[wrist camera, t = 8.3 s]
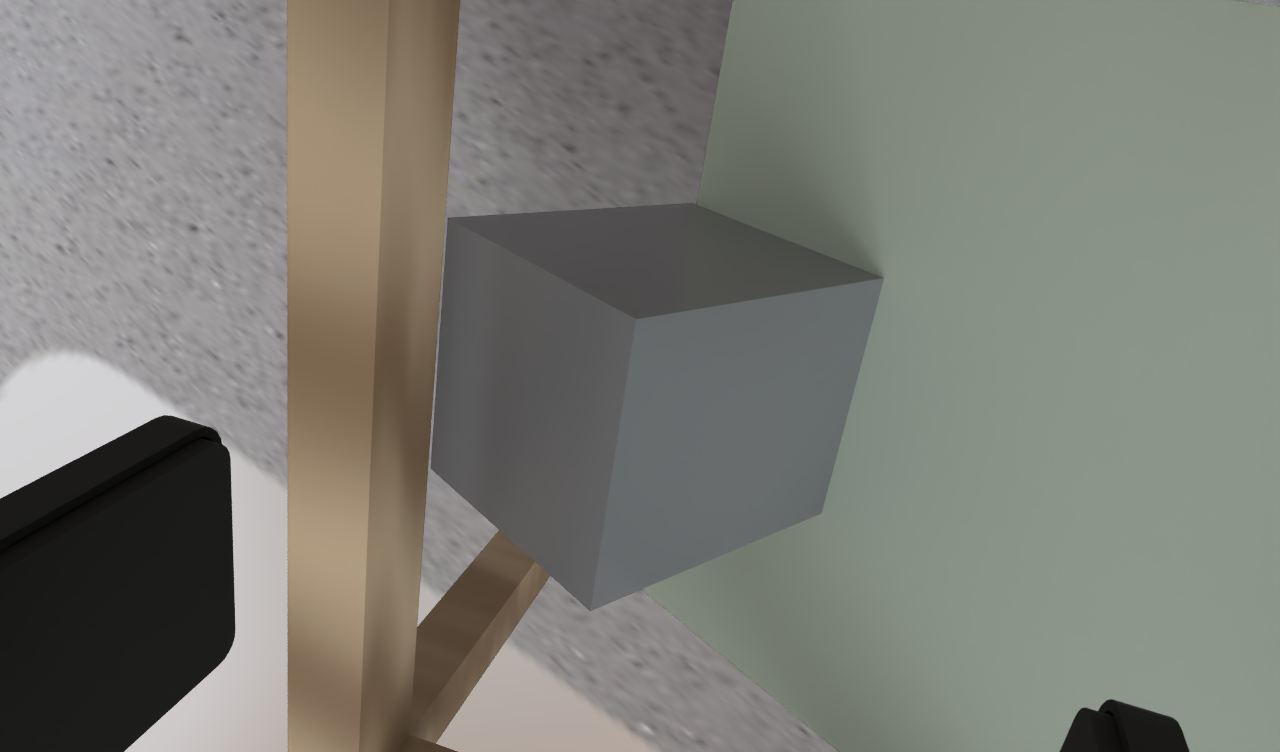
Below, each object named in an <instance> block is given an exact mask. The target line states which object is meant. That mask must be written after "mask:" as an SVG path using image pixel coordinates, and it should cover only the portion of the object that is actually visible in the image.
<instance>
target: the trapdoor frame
mask: <svg viewBox="0 0 1280 752" xmlns="http://www.w3.org/2000/svg"><path fill="white" fill-rule="evenodd" d="M459 9H460V0H287V195H288V752H457V751H454V750H451V749H449V748H446V747H443V746H440V745H438V744H436V742H437V741H438V739H439V738H440V737H441V735H442V733H443V732H444V731H445V729H446V728H447V726H448V725H449V723H450V722H451V720H452V719H453V717H454V716H455V714H456V713H457V712H458V710H459V709H460V707H461V706H462V704H463V703H464V701H465V700H466V698H467V697H468V696H469V694H470V693H471V691H472V690H473V688H474V687H475V685H476V684H477V682H478V681H479V679H480V678H481V677H482V675H483V674H484V672H485V671H486V669H487V668H488V666H489V664H490V663H491V662H492V660H493V659H494V658H495V656H496V655H497V653H498V652H499V650H500V649H501V647H502V646H503V644H504V643H505V641H506V640H507V638H508V637H509V636H510V634H511V633H512V631H513V630H514V628H515V627H516V625H517V624H518V622H519V621H520V619H521V618H522V617H523V615H524V614H525V612H526V611H527V609H528V608H529V606H530V605H531V603H532V602H533V600H534V599H535V597H536V596H537V595H538V593H539V592H540V590H541V589H542V587H543V586H544V584H545V583H546V581H547V580H548V578H549V577H550V576H551V575H549V574H548V573H547V572H546V571H545V570H544V569H543V568H542V567H540V566H539V565H538V564H537V563H536V562H535V561H534V560H533V559H532V558H530V557H529V556H528V555H527V554H526V553H525V552H524V551H523V550H521V549H520V548H519V547H518V546H517V545H516V544H515V543H514V542H513V541H511V540H510V539H509V538H508V537H507V536H506V535H505V534H504V533H502V532H501V531H500V530H499V531H498V532H497V533H496V534H495V536H494V537H493V538H492V539H491V540H490V542H489V543H488V544H487V545H486V546H485V548H484V549H483V550H482V551H481V552H480V553H479V555H478V556H477V557H476V558H475V559H474V561H473V562H472V563H471V564H470V565H469V566H468V568H467V569H466V570H465V571H464V572H463V574H462V575H461V576H460V577H459V578H458V580H457V581H456V582H455V583H454V584H453V585H452V587H451V588H450V589H449V590H448V591H447V593H446V594H445V595H444V596H443V597H442V599H441V600H440V601H439V602H438V603H437V604H436V606H435V607H434V608H433V609H432V610H431V612H430V613H429V614H428V615H427V616H426V618H425V619H424V620H423V621H422V622H421V623H420V625H419V626H418V627H417V620H418V607H419V592H420V577H421V563H422V548H423V534H424V519H425V505H426V490H427V475H428V461H429V446H430V432H431V417H432V403H433V388H434V373H435V359H436V344H437V330H438V315H439V301H440V286H441V271H442V257H443V242H444V228H445V213H446V199H447V184H448V169H449V155H450V140H451V126H452V111H453V97H454V82H455V67H456V53H457V38H458V24H459Z"/></svg>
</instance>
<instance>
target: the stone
mask: <svg viewBox="0 0 1280 752" xmlns="http://www.w3.org/2000/svg"><path fill="white" fill-rule="evenodd" d="M883 280H884V278H882V277H880V276H877V275H875V274H872V273H870V272H867V271H865V270H862V269H859V268H857V267H854V266H852V265H849V264H847V263H844V262H842V261H839V260H836V259H834V258H831V257H829V256H826V255H824V254H821V253H819V252H816V251H813V250H811V249H808V248H806V247H803V246H801V245H798V244H796V243H793V242H790V241H788V240H785V239H783V238H780V237H778V236H775V235H773V234H770V233H767V232H765V231H762V230H760V229H757V228H755V227H752V226H750V225H747V224H744V223H742V222H739V221H737V220H734V219H732V218H729V217H726V216H724V215H721V214H719V213H716V212H714V211H711V210H709V209H706V208H703V207H701V206H698V205H696V204H693V203H686V204H669V205H653V206H636V207H619V208H603V209H586V210H570V211H553V212H537V213H520V214H503V215H487V216H470V217H454V218H448V223H447V238H446V252H445V267H444V281H443V296H442V311H441V325H440V340H439V354H438V369H437V383H436V398H435V413H434V427H433V442H432V456H431V469H432V470H433V471H434V472H435V473H436V474H438V475H439V476H440V477H441V478H442V479H443V480H444V481H445V482H446V483H448V484H449V485H450V486H451V487H452V488H453V489H454V490H455V491H457V492H458V493H459V494H460V495H461V496H462V497H463V498H464V499H465V500H467V501H468V502H469V503H470V504H471V505H472V506H473V507H474V508H476V509H477V510H478V511H479V512H480V513H481V514H482V515H483V516H485V517H486V518H487V519H488V520H489V521H490V522H491V523H492V524H493V525H495V526H496V527H497V528H498V529H499V530H500V531H501V532H502V533H504V534H505V535H506V536H507V537H508V538H509V539H510V540H511V541H513V542H514V543H515V544H516V545H517V546H518V547H519V548H520V549H521V550H523V551H524V552H525V553H526V554H527V555H528V556H529V557H530V558H532V559H533V560H534V561H535V562H536V563H537V564H538V565H539V566H540V567H542V568H543V569H544V570H545V571H546V572H547V573H548V574H549V575H551V576H552V577H553V578H554V579H555V580H556V581H557V582H558V583H560V584H561V585H562V586H563V587H564V588H565V589H566V590H567V591H568V592H570V593H571V594H572V595H573V596H574V597H575V598H576V599H577V600H579V601H580V602H581V603H582V604H583V605H584V606H585V607H586V608H588V609H589V610H590V611H591V610H594V609H596V608H598V607H601V606H603V605H605V604H608V603H610V602H613V601H615V600H617V599H620V598H622V597H624V596H627V595H629V594H632V593H634V592H636V591H639V590H641V589H643V588H646V587H648V586H651V585H653V584H655V583H658V582H660V581H662V580H665V579H667V578H670V577H672V576H674V575H677V574H679V573H681V572H684V571H686V570H688V569H691V568H693V567H696V566H698V565H700V564H703V563H705V562H707V561H710V560H712V559H715V558H717V557H719V556H722V555H724V554H726V553H729V552H731V551H734V550H736V549H738V548H741V547H743V546H745V545H748V544H750V543H753V542H755V541H757V540H760V539H762V538H764V537H767V536H769V535H772V534H774V533H776V532H779V531H781V530H783V529H786V528H788V527H790V526H793V525H795V524H798V523H800V522H802V521H805V520H807V519H809V518H812V517H814V516H817V515H819V514H821V513H822V510H823V506H824V502H825V498H826V495H827V491H828V487H829V483H830V480H831V476H832V472H833V468H834V465H835V461H836V457H837V453H838V450H839V446H840V442H841V438H842V434H843V431H844V427H845V423H846V419H847V416H848V412H849V408H850V404H851V401H852V397H853V393H854V389H855V386H856V382H857V378H858V374H859V371H860V367H861V363H862V359H863V356H864V352H865V348H866V344H867V341H868V337H869V333H870V329H871V326H872V322H873V318H874V314H875V311H876V307H877V303H878V299H879V295H880V292H881V288H882V284H883Z"/></svg>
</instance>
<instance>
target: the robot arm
mask: <svg viewBox="0 0 1280 752" xmlns="http://www.w3.org/2000/svg"><path fill="white" fill-rule="evenodd" d="M232 535H233V534H232V499H231V466H230V454H229V451H228V449H227V447H225V446H224V445H222V442H221V438H220V436H219V434H218V432H217V431H215V430H214V429H212V428H210V427H207V426H204V425H200V424H197V423H194V422H190V421H187V420H184V419H180V418H177V417H174V416H165V415H164V416H161V417H158V418H155V419H153V420H151V421H149V422H147V423H145V424H144V425H142V426H140V427H138V428H136V429H134V430H132V431H130V432H128V433H126V434H124V435H122V436H120V437H118V438H117V439H115V440H113V441H111V442H109V443H107V444H105V445H103V446H101V447H99V448H97V449H95V450H93V451H92V452H89V453H88V454H86V455H84V456H82V457H80V458H78V459H76V460H74V461H72V462H70V463H68V464H66V465H65V466H62V467H61V468H59V469H57V470H55V471H53V472H51V473H49V474H47V475H45V476H43V477H41V478H40V479H37V480H36V481H34V482H32V483H30V484H28V485H26V486H24V487H22V488H20V489H19V490H16V491H14V492H12V493H11V494H9V495H7V496H5V497H3V498H1V499H0V752H124V751H125V750H126V749H127V748H128V747H129V746H131V744H133V743H134V742H135V741H136V740H137V739H138V738H139V737H140V736H141V735H143V734H144V733H145V732H146V731H147V730H148V729H149V728H150V727H151V726H152V725H154V724H155V723H156V722H157V721H158V720H159V719H160V718H161V717H162V716H163V715H165V714H166V713H167V712H168V711H169V710H170V709H171V708H172V707H173V706H174V705H176V704H177V703H178V702H179V701H180V700H181V699H182V698H183V697H184V696H185V695H187V694H188V693H189V692H190V691H191V690H192V689H193V688H194V687H195V686H196V685H198V684H199V683H200V682H201V681H202V680H203V679H204V678H205V677H206V676H207V675H209V673H211V672H212V671H213V670H214V669H215V668H216V667H217V666H218V665H219V664H220V663H221V662H222V661H223V660H224V659H225V657H226V656H227V654H228V653H229V650H230V648H231V646H232V644H233V641H234V637H235V604H234V570H233V569H234V568H233V536H232ZM1060 752H1190V751H1189V748H1188V745H1187V743H1186V740H1185V737H1184V734H1183V731H1182V729H1181V727H1180V725H1179V723H1178V721H1177V720H1175V719H1174V718H1172V717H1169V716H1166V715H1163V714H1159V713H1156V712H1153V711H1149V710H1146V709H1143V708H1140V707H1136V706H1133V705H1130V704H1126V703H1123V702H1120V701H1116V700H1113V699H1110V700H1106V701H1105V702H1104V703H1103V704H1102V705H1101V707H1100V708H1099V710H1098V711H1095V710H1092V709H1089V708H1086V707H1085V708H1081V709H1080V710H1079V711H1078V713H1077V714H1076V716H1075V718H1074V720H1073V722H1072V725H1071V727H1070V729H1069V731H1068V734H1067V736H1066V738H1065V740H1064V743H1063V745H1062V747H1061V750H1060Z"/></svg>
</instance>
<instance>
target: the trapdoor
mask: <svg viewBox="0 0 1280 752" xmlns="http://www.w3.org/2000/svg"><path fill="white" fill-rule="evenodd" d="M696 205H698V206H701V207H703V208H706V209H709V210H711V211H714V212H716V213H719V214H721V215H724V216H726V217H729V218H732V219H734V220H737V221H739V222H742V223H744V224H747V225H750V226H752V227H755V228H757V229H760V230H762V231H765V232H767V233H770V234H773V235H775V236H778V237H780V238H783V239H785V240H788V241H790V242H793V243H796V244H798V245H801V246H803V247H806V248H808V249H811V250H813V251H816V252H819V253H821V254H824V255H826V256H829V257H831V258H834V259H836V260H839V261H842V262H844V263H847V264H849V265H852V266H854V267H857V268H859V269H862V270H865V271H867V272H870V273H872V274H875V275H877V276H880V277H882V278H884V280H883V284H882V288H881V292H880V295H879V299H878V303H877V307H876V311H875V314H874V318H873V322H872V326H871V329H870V333H869V337H868V341H867V344H866V348H865V352H864V356H863V359H862V363H861V367H860V371H859V374H858V378H857V382H856V386H855V389H854V393H853V397H852V401H851V404H850V408H849V412H848V416H847V419H846V423H845V427H844V431H843V434H842V438H841V442H840V446H839V450H838V453H837V457H836V461H835V465H834V468H833V472H832V476H831V480H830V483H829V487H828V491H827V495H826V498H825V502H824V506H823V510H822V513H821V514H819V515H817V516H814V517H812V518H809V519H807V520H805V521H802V522H800V523H798V524H795V525H793V526H790V527H788V528H786V529H783V530H781V531H779V532H776V533H774V534H772V535H769V536H767V537H764V538H762V539H760V540H757V541H755V542H753V543H750V544H748V545H745V546H743V547H741V548H738V549H736V550H734V551H731V552H729V553H726V554H724V555H722V556H719V557H717V558H715V559H712V560H710V561H707V562H705V563H703V564H700V565H698V566H696V567H693V568H691V569H688V570H686V571H684V572H681V573H679V574H677V575H674V576H672V577H670V578H667V579H665V580H662V581H660V582H658V583H655V584H653V585H651V586H648V587H646V588H643V589H642V590H643V591H644V592H645V593H646V594H648V595H649V596H650V597H651V598H652V599H654V600H655V601H656V602H657V603H659V604H660V605H661V606H662V607H663V608H665V609H666V610H667V611H668V612H670V613H671V614H672V615H673V616H674V617H676V618H677V619H678V620H679V621H680V622H682V623H683V624H684V625H685V626H687V627H688V628H689V629H690V630H691V631H693V632H694V633H695V634H696V635H697V636H699V637H700V638H701V639H702V640H704V641H705V642H706V643H707V644H708V645H710V646H711V647H712V648H713V649H714V650H716V651H717V652H718V653H719V654H721V655H722V656H723V657H724V658H725V659H727V660H728V661H729V662H730V663H731V664H733V665H734V666H735V667H736V668H738V669H739V670H740V671H741V672H742V673H744V674H745V675H746V676H747V677H748V678H750V679H751V680H752V681H753V682H755V683H756V684H757V685H758V686H759V687H761V688H762V689H763V690H764V691H765V692H767V693H768V694H769V695H770V696H772V697H773V698H774V699H775V700H776V701H778V702H779V703H780V704H781V705H782V706H784V707H785V708H786V709H787V710H789V711H790V712H791V713H792V714H793V715H795V716H796V717H797V718H798V719H799V720H801V721H802V722H803V723H804V724H806V725H807V726H808V727H809V728H810V729H812V730H813V731H814V732H815V733H816V734H818V735H819V736H820V737H821V738H823V739H824V740H825V741H826V742H827V743H829V744H830V745H831V746H832V747H833V748H835V749H836V750H837V751H838V752H1060V750H1061V747H1062V745H1063V743H1064V740H1065V738H1066V736H1067V734H1068V731H1069V729H1070V727H1071V725H1072V722H1073V720H1074V718H1075V716H1076V714H1077V713H1078V711H1079V710H1080V709H1081V708H1085V707H1086V708H1089V709H1092V710H1095V711H1098V710H1099V708H1100V707H1101V705H1102V704H1103V703H1104V702H1105V701H1106V700H1110V699H1113V700H1116V701H1120V702H1123V703H1126V704H1130V705H1133V706H1136V707H1140V708H1143V709H1146V710H1149V711H1153V712H1156V713H1159V714H1163V715H1166V716H1169V717H1172V718H1174V719H1175V720H1177V721H1178V723H1179V725H1180V727H1181V729H1182V731H1183V734H1184V737H1185V740H1186V743H1187V745H1188V748H1189V751H1190V752H1280V6H1274V5H1266V4H1258V3H1250V2H1242V1H1234V0H733V1H732V7H731V12H730V18H729V23H728V29H727V35H726V40H725V46H724V52H723V57H722V63H721V68H720V74H719V80H718V85H717V91H716V97H715V102H714V108H713V113H712V119H711V125H710V130H709V136H708V142H707V147H706V153H705V158H704V164H703V170H702V175H701V181H700V187H699V192H698V198H697V203H696Z"/></svg>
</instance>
